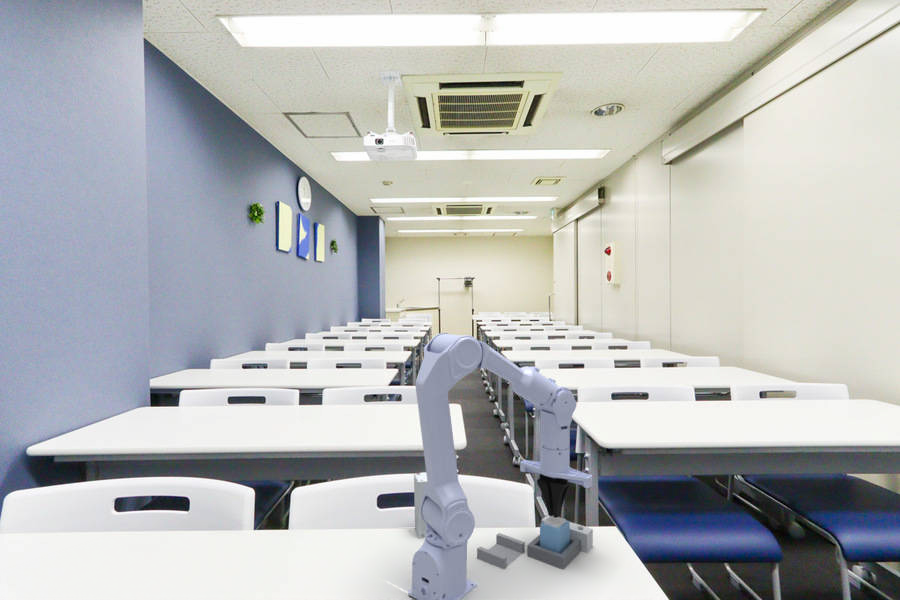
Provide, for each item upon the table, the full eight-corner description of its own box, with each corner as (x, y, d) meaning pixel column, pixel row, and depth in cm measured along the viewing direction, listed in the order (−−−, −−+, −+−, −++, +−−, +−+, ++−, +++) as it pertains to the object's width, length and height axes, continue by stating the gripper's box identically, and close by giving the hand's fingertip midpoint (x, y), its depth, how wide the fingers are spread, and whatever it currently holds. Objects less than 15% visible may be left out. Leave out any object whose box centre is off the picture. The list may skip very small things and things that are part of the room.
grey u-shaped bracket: (503, 571, 85) (503, 559, 85) (477, 560, 88) (477, 548, 89) (524, 553, 91) (524, 542, 91) (498, 543, 95) (498, 532, 95)
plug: (559, 562, 87) (559, 528, 88) (539, 555, 90) (540, 521, 90) (569, 551, 91) (569, 518, 91) (551, 545, 94) (551, 513, 94)
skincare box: (438, 538, 97) (438, 480, 97) (417, 540, 96) (417, 482, 96) (432, 525, 103) (433, 470, 103) (413, 527, 102) (413, 472, 102)
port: (569, 574, 84) (569, 550, 84) (521, 555, 90) (521, 533, 90) (592, 548, 93) (592, 527, 93) (547, 533, 99) (547, 513, 99)
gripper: (598, 448, 90) (598, 518, 89) (531, 435, 99) (531, 498, 98) (584, 457, 84) (584, 531, 84) (515, 442, 93) (514, 510, 93)
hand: (554, 515), depth 91 cm, fingers closed
